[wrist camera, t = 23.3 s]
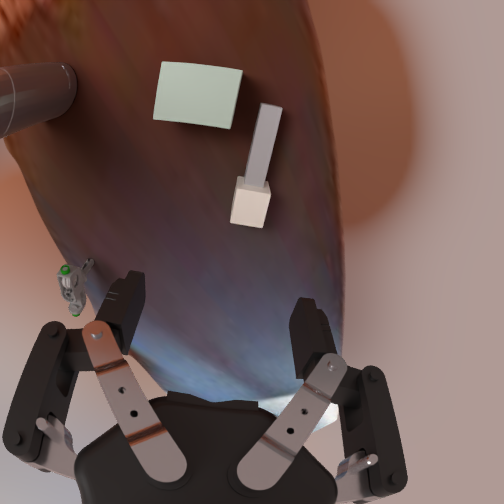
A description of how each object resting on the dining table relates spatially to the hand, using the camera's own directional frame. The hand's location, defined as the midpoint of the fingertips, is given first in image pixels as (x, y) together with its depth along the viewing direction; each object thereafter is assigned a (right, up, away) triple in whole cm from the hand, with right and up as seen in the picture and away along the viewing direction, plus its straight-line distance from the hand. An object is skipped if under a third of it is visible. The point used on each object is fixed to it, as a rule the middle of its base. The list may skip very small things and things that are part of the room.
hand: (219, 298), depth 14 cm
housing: (-5, +23, +18) cm, 30 cm away
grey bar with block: (+2, +15, +24) cm, 28 cm away
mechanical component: (-28, +1, +33) cm, 43 cm away
